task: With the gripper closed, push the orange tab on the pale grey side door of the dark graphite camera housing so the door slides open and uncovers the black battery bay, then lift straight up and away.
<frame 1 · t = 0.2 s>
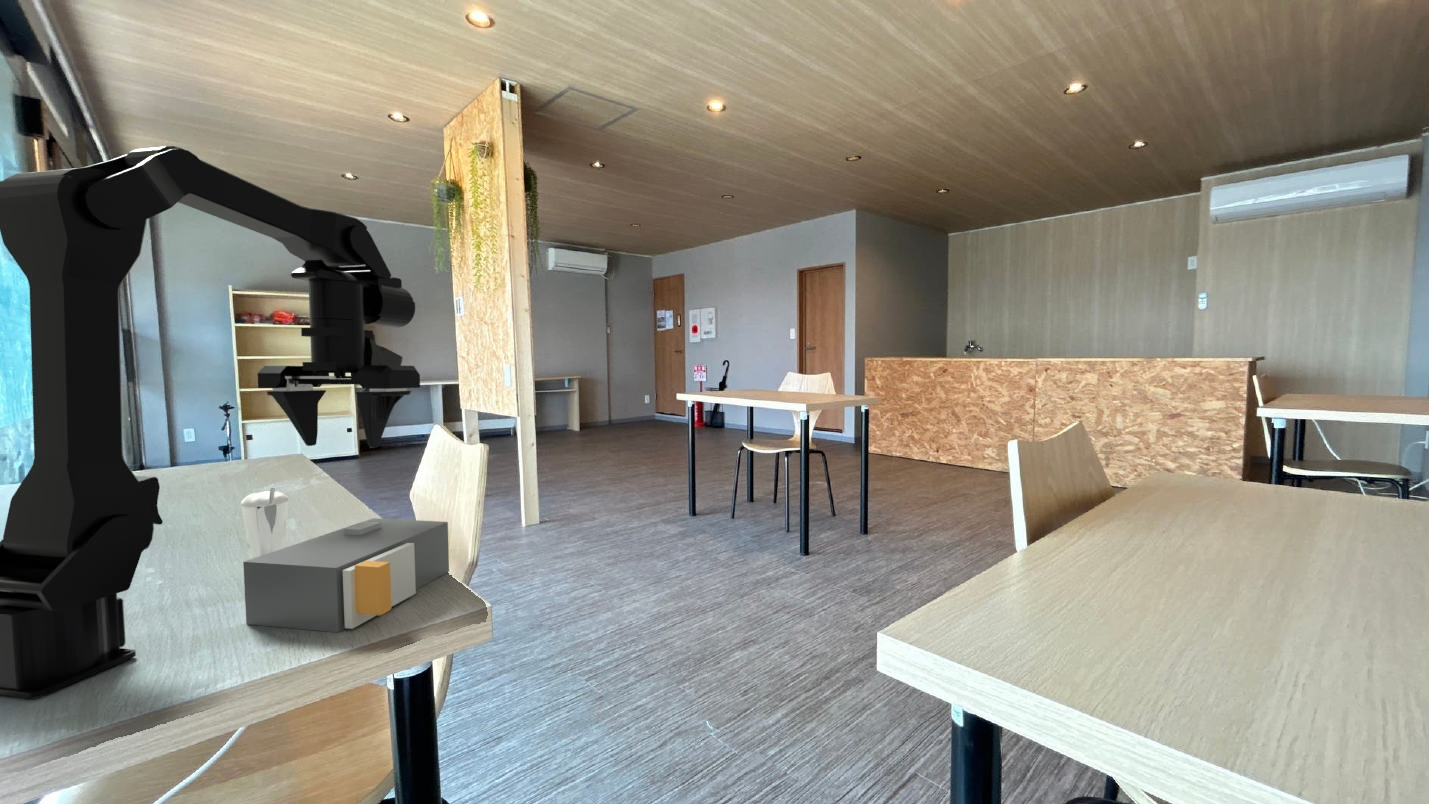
hand: (342, 446, 71), 14 cm above the table, fingers open, 9 cm apart
camera housing: (359, 594, 61), on the table
milkshake: (269, 567, 70), on the table
side door: (393, 582, 56), point 3 cm above the table, slide at 0.0 cm
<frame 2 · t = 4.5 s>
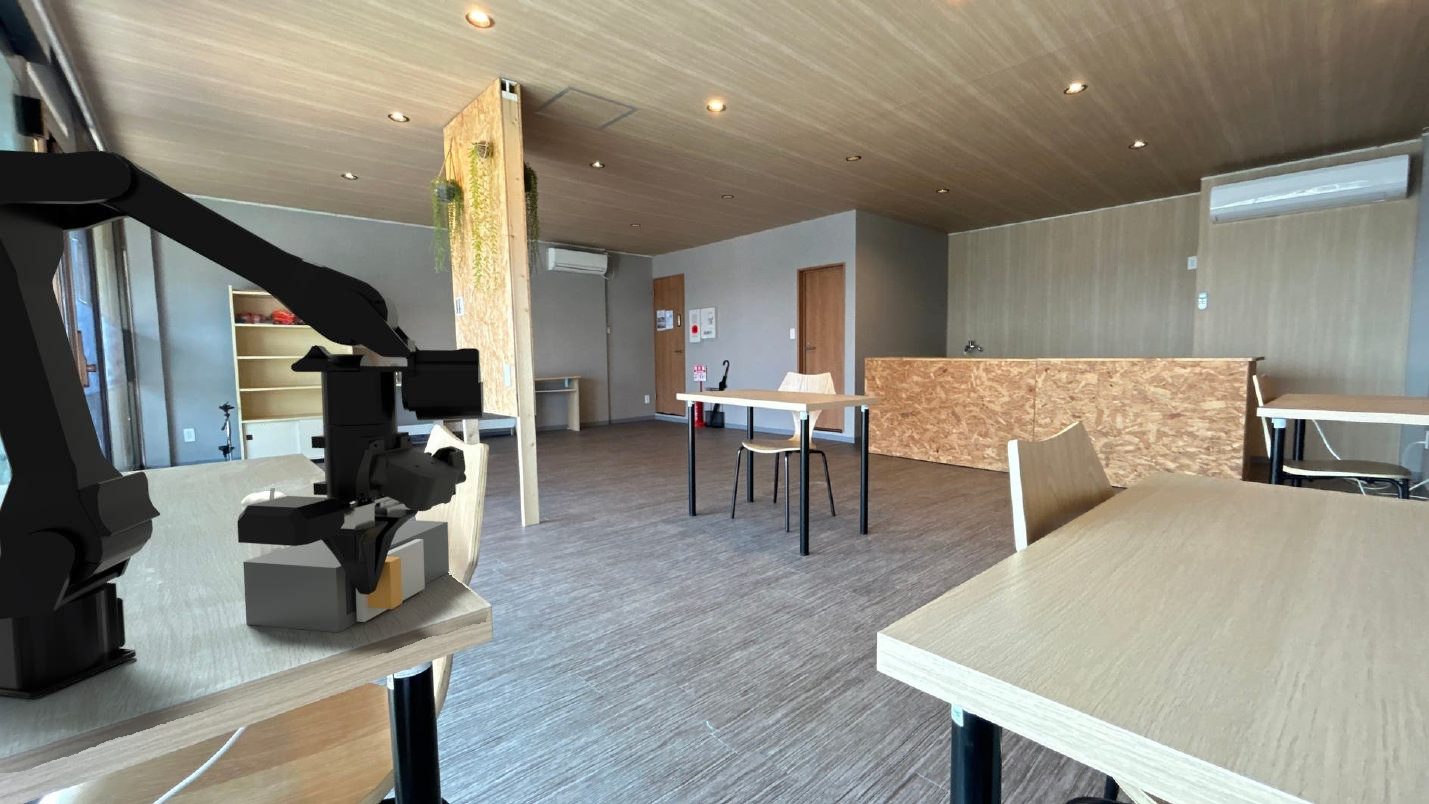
hand: (367, 593, 52), 4 cm above the table, fingers closed
side door: (403, 576, 57), point 3 cm above the table, slide at 1.4 cm, touching gripper
everything else where it was.
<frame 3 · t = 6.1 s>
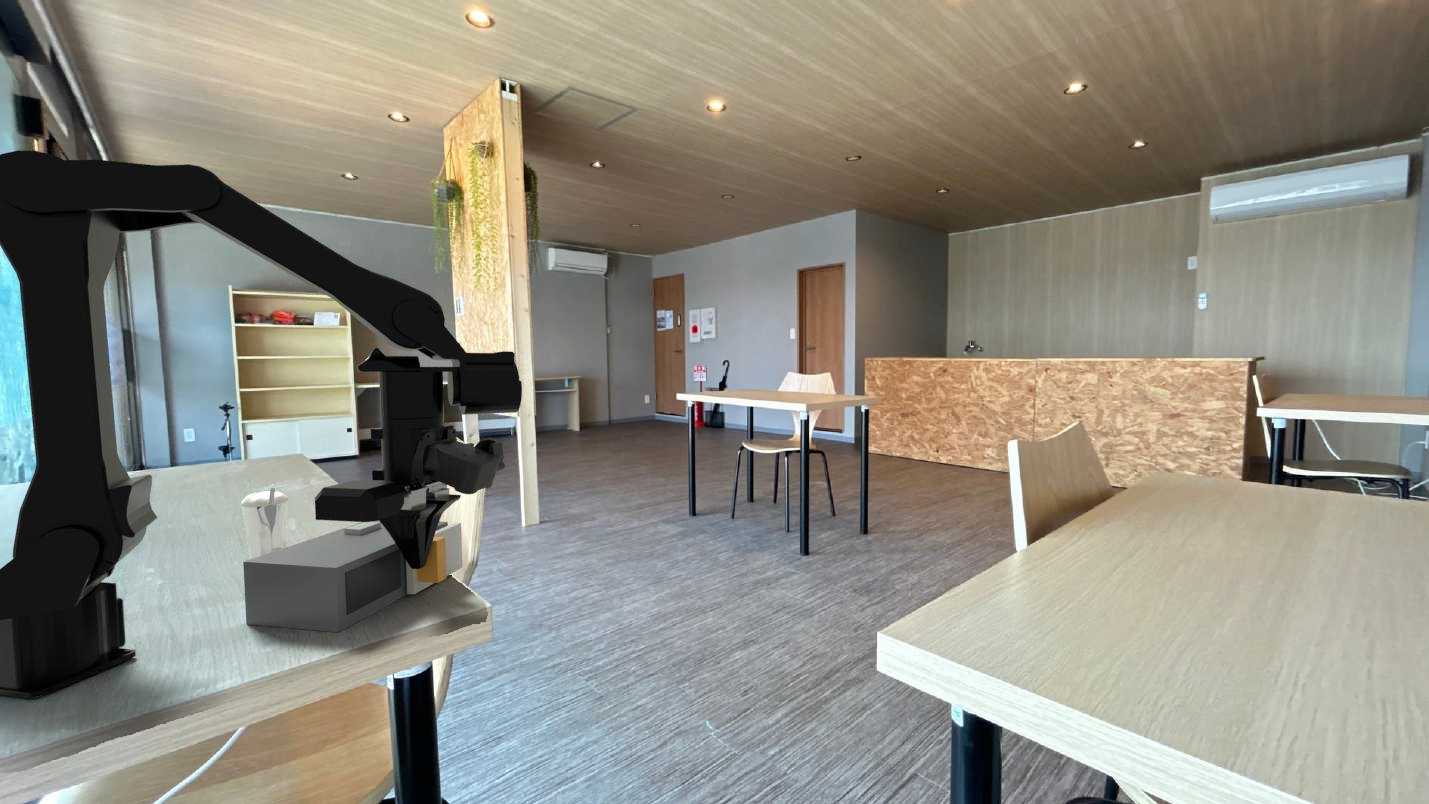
hand: (417, 568, 59), 4 cm above the table, fingers closed
side door: (445, 555, 64), point 3 cm above the table, slide at 8.1 cm, touching gripper
everything else where it was.
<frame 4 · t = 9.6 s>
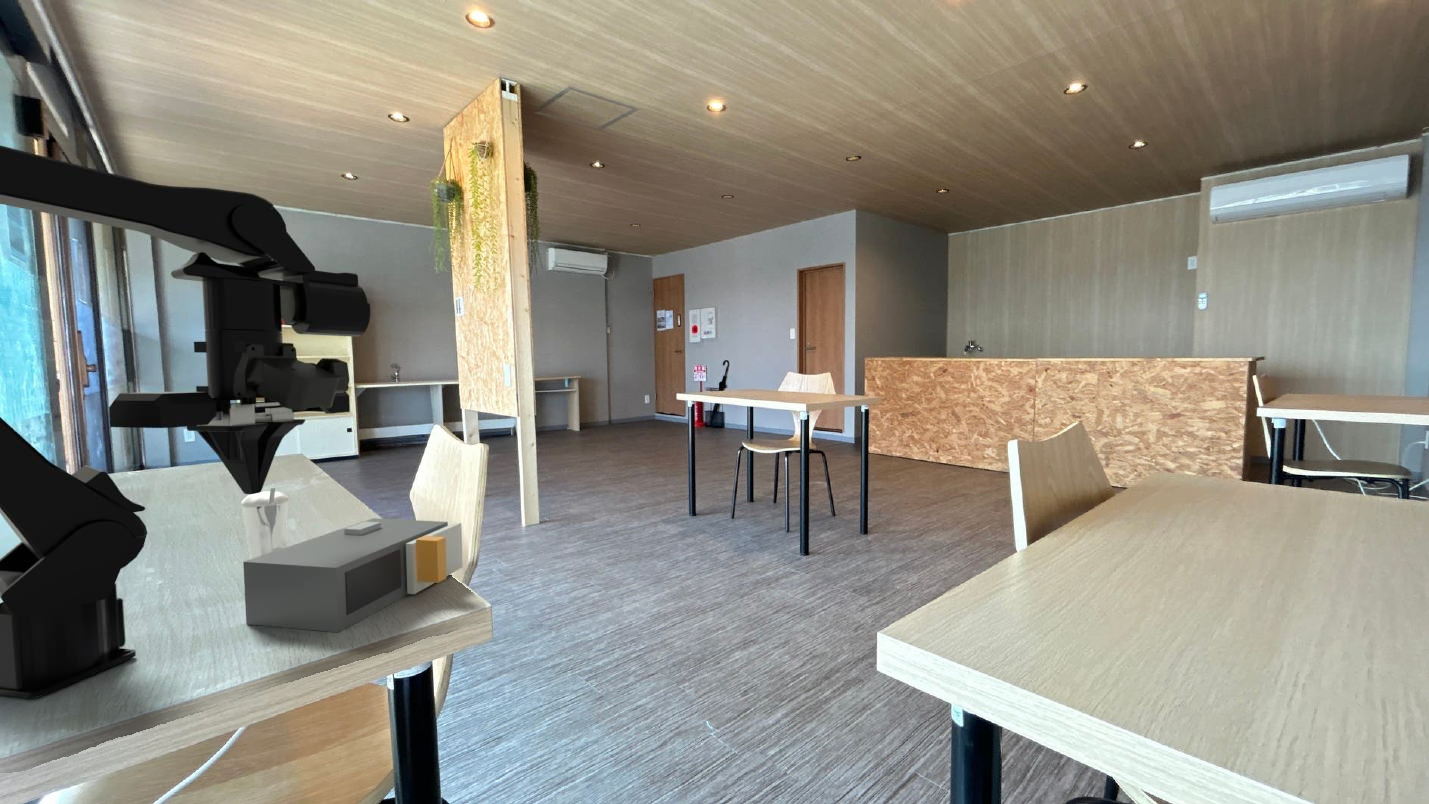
hand: (252, 493, 55), 12 cm above the table, fingers closed
side door: (446, 555, 64), point 3 cm above the table, slide at 8.2 cm
everything else where it was.
at the end: side door slide at 8.2 cm; milkshake moved 0.2 cm from its start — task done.
